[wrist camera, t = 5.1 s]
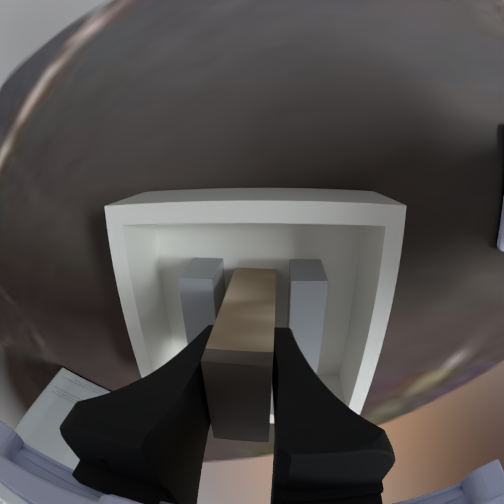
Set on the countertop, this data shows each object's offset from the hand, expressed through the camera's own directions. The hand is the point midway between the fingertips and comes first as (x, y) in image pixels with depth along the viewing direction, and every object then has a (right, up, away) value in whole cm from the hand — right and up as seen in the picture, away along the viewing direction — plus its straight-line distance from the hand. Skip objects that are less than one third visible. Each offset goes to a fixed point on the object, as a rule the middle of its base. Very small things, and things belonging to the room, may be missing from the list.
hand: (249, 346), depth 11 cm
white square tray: (0, +1, +4) cm, 4 cm away
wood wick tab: (0, +1, +3) cm, 4 cm away
